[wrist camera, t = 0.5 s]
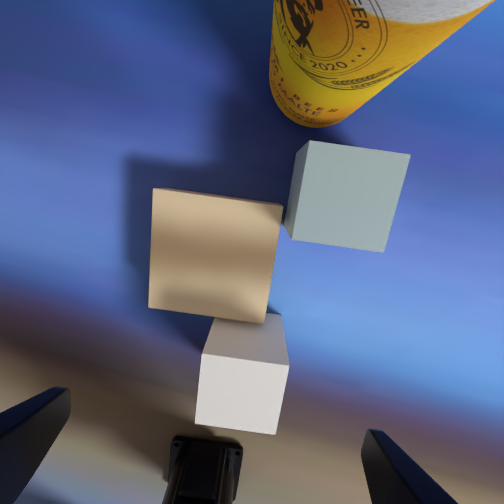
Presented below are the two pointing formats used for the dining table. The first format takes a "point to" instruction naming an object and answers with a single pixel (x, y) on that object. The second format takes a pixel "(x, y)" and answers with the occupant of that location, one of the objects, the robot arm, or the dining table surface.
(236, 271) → the beech slab
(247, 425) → the white block
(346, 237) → the teal grey cube
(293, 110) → the beer can
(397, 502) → the robot arm
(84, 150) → the dining table surface
